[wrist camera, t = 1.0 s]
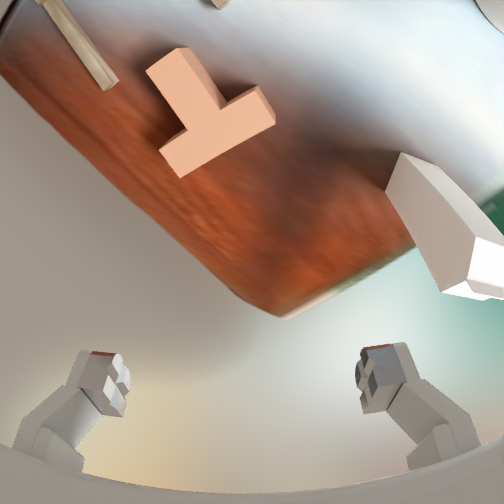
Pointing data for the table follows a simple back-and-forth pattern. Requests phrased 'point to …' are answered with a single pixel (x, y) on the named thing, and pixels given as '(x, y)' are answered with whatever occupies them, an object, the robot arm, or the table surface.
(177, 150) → the T block
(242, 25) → the table surface
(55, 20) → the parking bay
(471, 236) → the milk
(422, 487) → the robot arm
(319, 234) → the table surface
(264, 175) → the table surface
